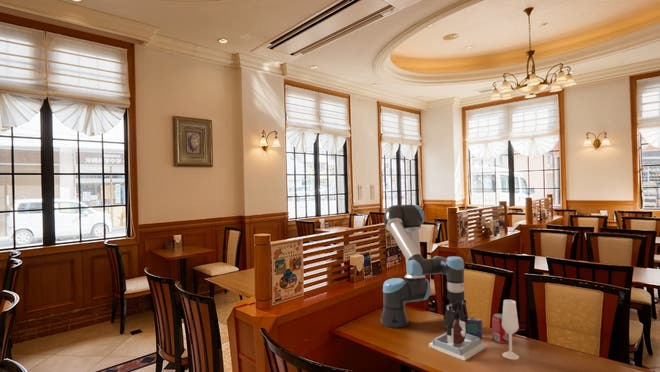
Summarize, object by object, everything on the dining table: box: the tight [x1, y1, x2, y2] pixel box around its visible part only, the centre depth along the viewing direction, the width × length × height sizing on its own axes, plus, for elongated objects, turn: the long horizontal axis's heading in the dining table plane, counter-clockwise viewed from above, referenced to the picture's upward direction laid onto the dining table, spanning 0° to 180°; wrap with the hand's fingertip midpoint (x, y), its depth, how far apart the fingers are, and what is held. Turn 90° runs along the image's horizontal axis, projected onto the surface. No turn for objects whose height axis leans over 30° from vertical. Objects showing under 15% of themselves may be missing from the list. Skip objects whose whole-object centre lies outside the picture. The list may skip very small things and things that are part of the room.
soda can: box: [491, 313, 509, 344], centre depth 172 cm, size 7×7×12 cm
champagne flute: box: [501, 299, 520, 360], centre depth 157 cm, size 7×7×24 cm
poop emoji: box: [446, 319, 466, 344], centre depth 166 cm, size 10×8×9 cm
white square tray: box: [428, 332, 486, 362], centre depth 166 cm, size 18×18×4 cm
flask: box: [465, 314, 484, 339], centre depth 177 cm, size 9×3×11 cm, turn 74°
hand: (456, 338), depth 166 cm, fingers closed on poop emoji, 10 cm apart
